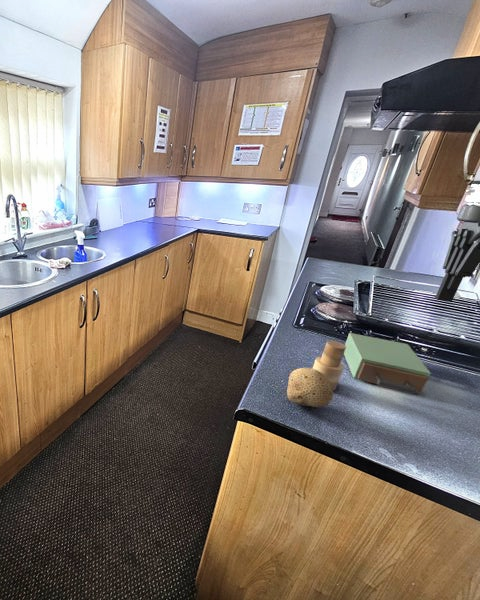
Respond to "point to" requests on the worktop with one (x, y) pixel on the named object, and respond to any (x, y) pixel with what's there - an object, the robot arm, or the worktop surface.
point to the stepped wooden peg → (331, 362)
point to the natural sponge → (309, 388)
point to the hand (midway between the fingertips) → (443, 299)
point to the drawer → (392, 378)
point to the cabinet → (381, 355)
